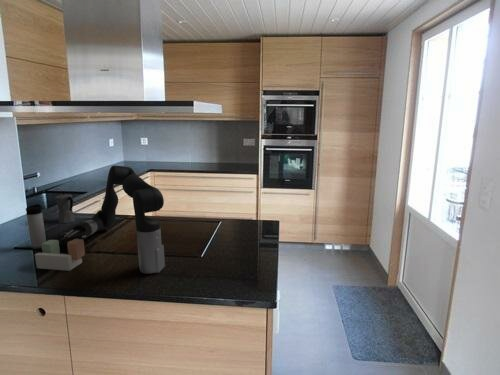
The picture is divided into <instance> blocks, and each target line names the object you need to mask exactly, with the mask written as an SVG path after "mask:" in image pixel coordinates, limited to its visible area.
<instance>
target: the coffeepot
mask: <svg viewBox="0 0 500 375" xmlns="http://www.w3.org/2000/svg"><path fill="white" fill-rule="evenodd" d="M65 192H66V191H61V193H62V194H59V195H58V194H57V195H56V196H54V198H55V202H56V204H57V208H58V220H57V221H58V223H59V224H71V223H73V222H75V221H76V216H75V215H74V210H73V205H74V199H73V197H74V196H73V195H72V194H69V193H67V194H66V193H65Z"/></svg>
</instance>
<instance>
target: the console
mask: <svg viewBox="0 0 500 375" xmlns="http://www.w3.org/2000/svg"><path fill="white" fill-rule="evenodd" d="M82 258H83V257H81V258H79V259H72V258H71V255H68V254H67V253H63V252H62V253H61V252H60V254H52V253H42V252H36V253H35V254H34V259H35V264H36V269H43V270H44V269H45V270H57V271H67V272H69V271H72V270H73V269H74V268H77V267H78V266H79V265H81V264H82V263H83V259H82Z"/></svg>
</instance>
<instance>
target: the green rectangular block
mask: <svg viewBox="0 0 500 375" xmlns="http://www.w3.org/2000/svg"><path fill="white" fill-rule="evenodd" d="M41 246H42V248H41V250H42V252H41V253H52V254H61V251H60V250H61V248H60V244H59V239H49V240H46V242H44V243H42V244H41Z"/></svg>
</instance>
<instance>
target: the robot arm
mask: <svg viewBox="0 0 500 375" xmlns="http://www.w3.org/2000/svg"><path fill="white" fill-rule="evenodd" d="M114 185H117V186H118V185H119V186H122V190H123V191H124V193H125V194H126V195H127V196H128V197H129V198H131V199H132V203H133V211H134V219H135V227H136V228H135V229H136V242H137V256H138V267H139V271H140V273H143V274H147V275H148V274H157V273H160V272H161V271H162V270H163V269H164V268H165V267H166V261H165V247H164V244H162V233H161V232H162V230H161V222H160V220H159V219H157V218H152V217H148V216H146V214H148V213H153V212H157V211H160V210H161V209H162V208H163V207H164V203H165V198H164V195H163V194H162V192H161V190H160V189H158V188H157V187H155V186H153V185H150V184H149V183H148V182H146V181H145V180H144V179H142V177H140V176H139V175H138V174H137V173H136V172H135V170H134V169H133V168H132V167H129V166H124V165H123V166H122V165H112V166H111V167H110V168H109V170H108V176H107V182H106V185H105V186H106V187H105V194H104V199H103V200H102V201H103V202H102V204H101V207H100V210H98V211H97V212H95V214H94V215H93V216H92V217H91V218H89V219H87V220H84V221H82V222H79V223H77V224H76V225H74V226H73V227H72V229H71V230H69V231H68V232H65V231H62V232H61V238H60V239H58V241H59V245H65V244H66V243H68V242H70V241H72V240H74V239H83V240H86V239H87V238H88V237H90V236H91V235H93V234H94V233H96V232H98V231H100V230H102V228H103V227H104V228H107V229H110V228H111V227H113V226H114V225H115V223H116V216H117V214H116V210H117V207H118V204H119V197H118V194H117V192H116V190H115V187H114Z"/></svg>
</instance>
